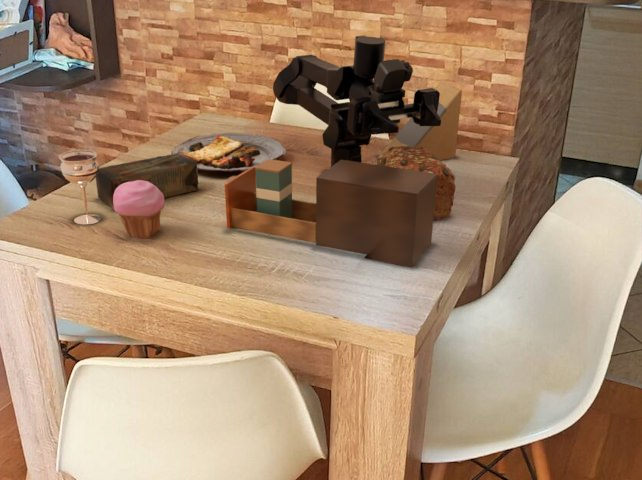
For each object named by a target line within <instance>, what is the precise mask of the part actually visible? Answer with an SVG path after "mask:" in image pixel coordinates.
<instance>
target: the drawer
mask: <svg viewBox="0 0 642 480" xmlns="http://www.w3.org/2000/svg"><path fill="white" fill-rule="evenodd" d="M224 197H225V199H224V201H225V217H226V229H232V228H235V229H241V230H245V231H251V232H255V233H256V232H257V233H262V234H267V235H272V236H277V237H282V238H288V239H293V240H297V241H298V240H299V241H303V242H309V243H314V244H316V202H312V201H307V200H306V201H305V200H300V199H294V198H292V218H287V217H281V216H276V215H270V214H264V213H259V212H257V198H256V169H255V167H254V166H252V167H251V168H248V169H246V170H245V171H242V172H241V173H238V175H236V176H234V177H233V178H231V179H230V180H228V181H226V182H225V183H224Z"/></svg>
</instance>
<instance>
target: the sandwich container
mask: <svg viewBox="0 0 642 480" xmlns="http://www.w3.org/2000/svg"><path fill="white" fill-rule="evenodd" d="M434 89H435V90H437V91H438V92H439V93H440V97H439V104H438V111H437V113H438V115H439V117H440V119H441V125H440V126H419V124H416V123H414V121H413V118H412V117H411V118H408V120H407V122H406V123H405V124H404V125H403V127H402V128H400V130H399V131H398V133H396V135H395V136H394V137H393V139H392V140H391V141H390V142H389V143H388V145H387V146H386V147H385V148H384V149H383V151H382V152H381V153H380V154H379V155H378V157H379V156H380V155H381V154H383V153H384V152H386V151H388V150H389V149H390V148H391V147H399V146H414V147H422V148H424V149H426V150H427V151H428V152H430V153H431V154H432V155H434V156H435V157H436V158H438V159H439V160H440V161H443V160H449V159H454V158H456V150H457V142H458V133H459V125H460V115H461V114H460V113H461V104H462V95H463V90H462V88H459V87H458V86H455V85H452V84H450V83H447V82H445V81H442V80H439V81H438V82H437V84H436V86H434Z"/></svg>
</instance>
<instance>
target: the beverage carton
mask: <svg viewBox="0 0 642 480" xmlns="http://www.w3.org/2000/svg"><path fill="white" fill-rule="evenodd" d="M136 180H143V181H148V182H150V183H152V184H153V185H154V186H156V187H157V188H158V189H159V190H160V191H161V192H162V194H163V196H164V199H165V198H169V197H170V198H171V197H175V196H179V195H183V194H188V193H191V192H196V191H199V174H198V170H197V163H196V162H195V161H193V160H191V159H189V158H187V157H185V156H184V155H183V154H182V153H175V154H166V155H161V156H156V157H150V158H145V159H139V160H134V161H129V162H124V163H119V164H112V165H107V166H102V167H99V172H98V175H97V176H96V177H95V185H96V190H97V197H98V199H99V200H100V201H102V202H104V203H105V204H106V205H107V206H109V207H110V208H111V209H112V210H114V205H113V195H114V192H115V190H116V188H117V187H118V186H120V185H121V184H123V183H126V182H132V181H136Z"/></svg>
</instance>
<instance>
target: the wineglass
mask: <svg viewBox="0 0 642 480" xmlns="http://www.w3.org/2000/svg"><path fill="white" fill-rule="evenodd" d="M97 156H98V153H97V152H96V151H93V150H88V149H75V150H69V151H65V152H63V153H60V154H59V155H58V159H59V160H60V167H59V169H60V172H61V174H62V176H63V177H64V179H65V180H67V181H68V182H70V183H71V184H74V185H77V186H78V187H79V188H80V191H81V197H82V202H83V207H84V211H85V214H81V215H78V216H76V217H75V218H74V220H73V222H74V223H76V224H78V225H93V224H96V223H99V222H100V221H101V220H102V216H100V215H99V214H92V213H91V214H89V210H88V201H87V193H86V192H87V191H86V188H87V186H88V184H89V183H92V182H94V180H96V176H97V175H98V172H99V168H100V164H99V161H98V160H97V159H96V158H97Z"/></svg>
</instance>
